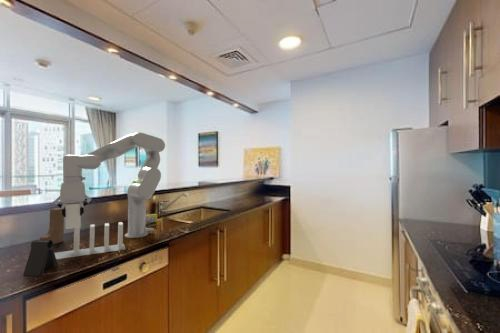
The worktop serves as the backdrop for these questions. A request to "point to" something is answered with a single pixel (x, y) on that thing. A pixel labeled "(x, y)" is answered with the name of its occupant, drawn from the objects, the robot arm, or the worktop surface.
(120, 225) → the domino
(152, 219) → the candy box
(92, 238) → the domino
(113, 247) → the mat
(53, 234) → the wooden block
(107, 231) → the domino
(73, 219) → the domino
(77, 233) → the domino
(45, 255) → the phone stand
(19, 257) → the worktop surface
